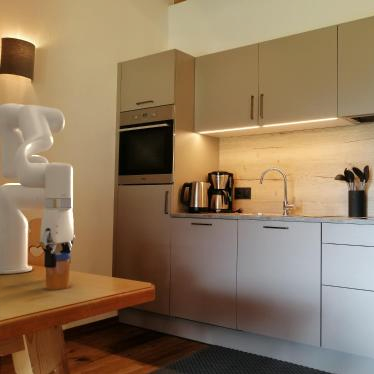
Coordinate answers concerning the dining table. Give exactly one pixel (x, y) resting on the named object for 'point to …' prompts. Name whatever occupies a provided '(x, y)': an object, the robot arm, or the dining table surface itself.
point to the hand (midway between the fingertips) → (57, 264)
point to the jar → (58, 275)
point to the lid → (63, 256)
